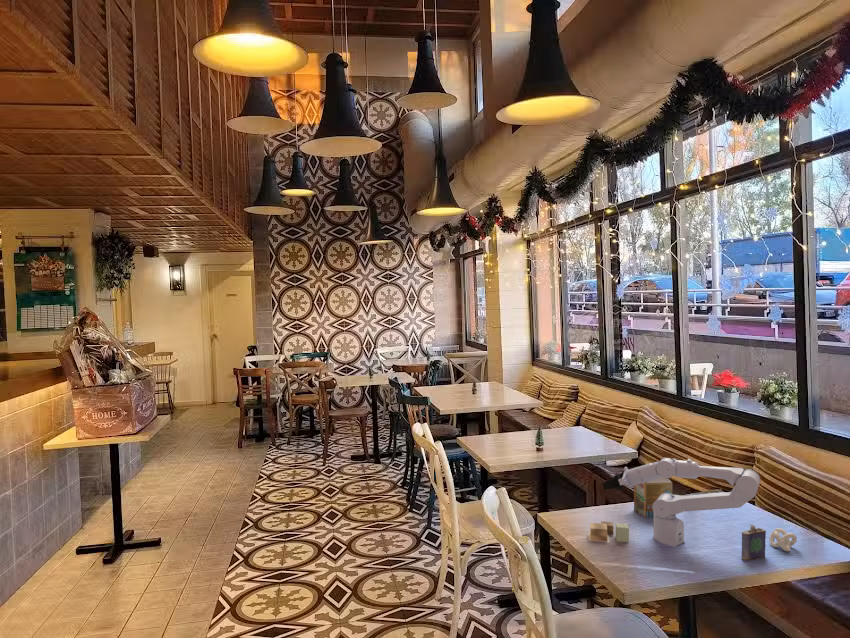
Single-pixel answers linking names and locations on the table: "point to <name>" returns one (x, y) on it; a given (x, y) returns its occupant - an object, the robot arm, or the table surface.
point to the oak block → (598, 531)
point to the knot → (782, 539)
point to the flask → (753, 544)
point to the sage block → (622, 532)
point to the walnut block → (608, 527)
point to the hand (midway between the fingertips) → (606, 484)
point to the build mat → (598, 540)
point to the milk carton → (650, 495)
